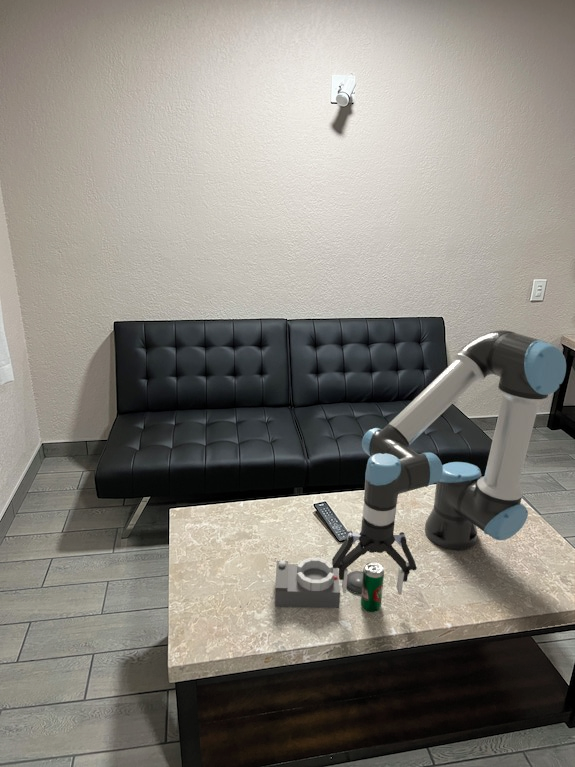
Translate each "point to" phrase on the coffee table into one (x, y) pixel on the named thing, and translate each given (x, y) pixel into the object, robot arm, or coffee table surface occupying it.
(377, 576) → the soda can
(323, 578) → the camera body
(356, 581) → the lens cap
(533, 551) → the coffee table surface
